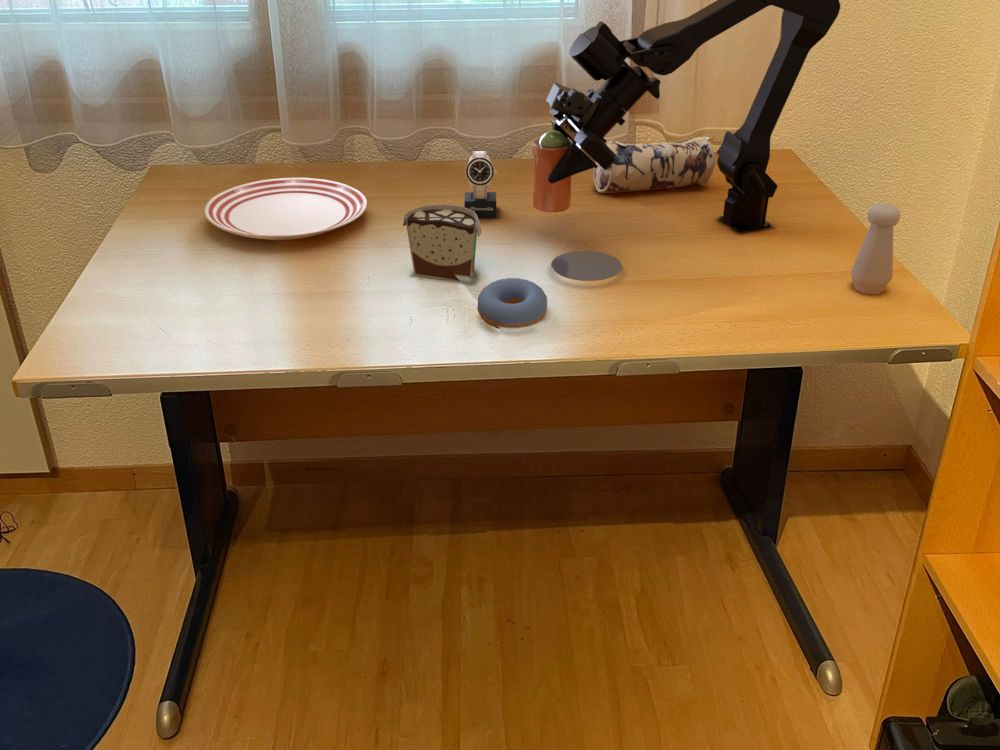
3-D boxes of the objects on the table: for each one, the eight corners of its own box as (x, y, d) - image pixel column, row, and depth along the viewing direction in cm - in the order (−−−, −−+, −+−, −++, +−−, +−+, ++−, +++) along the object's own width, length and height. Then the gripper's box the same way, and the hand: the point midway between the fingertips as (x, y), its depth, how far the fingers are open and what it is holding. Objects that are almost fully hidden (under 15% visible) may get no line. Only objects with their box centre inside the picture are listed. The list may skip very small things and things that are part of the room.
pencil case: (602, 200, 178) (605, 148, 173) (589, 184, 185) (592, 133, 180) (716, 191, 182) (722, 140, 176) (699, 176, 189) (705, 125, 184)
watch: (464, 222, 170) (463, 161, 164) (465, 205, 177) (463, 145, 171) (497, 222, 170) (496, 160, 164) (496, 204, 177) (495, 145, 171)
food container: (493, 268, 154) (493, 208, 149) (480, 285, 149) (479, 223, 144) (421, 258, 157) (418, 199, 152) (405, 273, 153) (401, 213, 147)
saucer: (601, 252, 159) (601, 245, 158) (634, 280, 150) (635, 273, 150) (539, 263, 155) (539, 257, 155) (569, 293, 147) (569, 285, 146)
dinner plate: (327, 181, 187) (326, 164, 185) (395, 229, 168) (394, 210, 166) (185, 212, 174) (182, 194, 173) (241, 267, 155) (238, 248, 153)
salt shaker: (891, 298, 145) (909, 216, 138) (850, 295, 146) (867, 213, 139) (885, 281, 149) (903, 200, 143) (846, 278, 150) (862, 198, 144)
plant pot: (570, 197, 162) (572, 123, 155) (574, 212, 156) (576, 136, 150) (530, 198, 162) (530, 124, 155) (532, 213, 156) (532, 137, 150)
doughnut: (524, 341, 134) (524, 312, 132) (463, 323, 139) (462, 294, 136) (559, 312, 141) (560, 284, 139) (501, 296, 146) (500, 268, 144)
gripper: (562, 50, 156) (496, 124, 160) (597, 81, 140) (522, 162, 144) (608, 96, 162) (542, 166, 165) (646, 130, 146) (572, 207, 150)
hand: (544, 174), depth 156 cm, fingers closed on plant pot, 6 cm apart
